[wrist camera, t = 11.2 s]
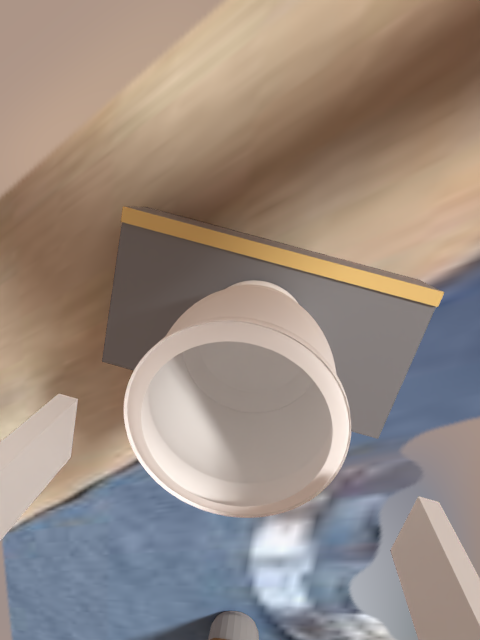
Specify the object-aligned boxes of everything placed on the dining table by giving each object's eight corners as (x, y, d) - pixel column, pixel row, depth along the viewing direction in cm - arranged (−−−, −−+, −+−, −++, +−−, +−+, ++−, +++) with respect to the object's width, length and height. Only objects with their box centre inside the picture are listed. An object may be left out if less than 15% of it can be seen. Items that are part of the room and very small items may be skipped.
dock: (419, 280, 33) (444, 292, 28) (365, 409, 37) (378, 440, 32) (146, 207, 34) (122, 206, 29) (124, 342, 38) (100, 362, 33)
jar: (179, 358, 32) (100, 476, 18) (216, 248, 29) (154, 284, 15) (291, 399, 32) (300, 549, 18) (339, 294, 29) (396, 374, 15)
